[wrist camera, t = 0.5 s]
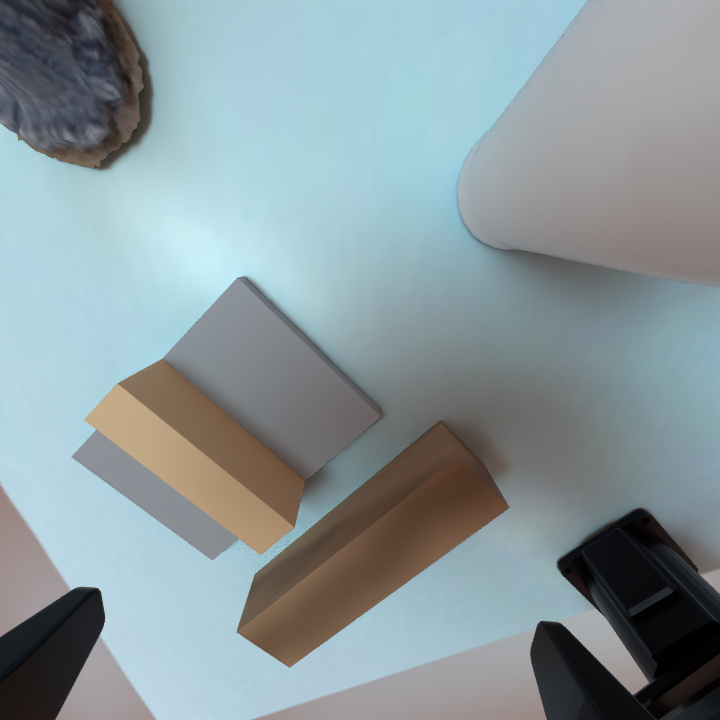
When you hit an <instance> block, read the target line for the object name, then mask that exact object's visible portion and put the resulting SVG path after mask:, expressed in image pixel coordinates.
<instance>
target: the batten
mask: <svg viewBox="0 0 720 720" xmlns="http://www.w3.org/2000/svg"><path fill="white" fill-rule="evenodd" d="M508 508H510V507H509V506H508V504H507V502H506V501H505V499H504V497H503V496H502V494H501V492H500V491H499V489H498V487H497V485H496V484H495V482H494V480H493V479H492V477H491V475H490V474H489V472H488V470H487V468H486V467H485V465H484V464H483V463H482V462H481V461H480V460H479V459H478V458H477V457H476V456H475V455H474V454H473V453H472V452H471V451H470V450H469V449H468V448H467V447H466V446H465V445H464V444H463V443H462V442H461V441H460V440H459V439H458V438H457V437H456V436H455V435H454V434H453V433H452V432H451V431H450V430H449V429H448V428H447V427H446V426H445V425H444V424H443V423H442V422H441V421H439V422H438V423H437V424H435V425H434V426H433V427H432V428H431V429H429V430H428V431H427V432H426V433H425V434H423V435H422V436H421V437H420V438H418V439H417V440H416V441H415V442H414V443H412V444H411V445H410V446H409V447H408V448H406V449H405V450H404V451H403V452H402V453H400V454H399V455H398V456H397V457H396V458H394V459H393V460H392V461H391V462H390V463H388V464H387V465H386V466H385V467H383V468H382V469H381V470H380V471H379V472H377V473H376V474H375V475H374V476H373V477H371V478H370V479H369V480H368V481H367V482H365V483H364V484H363V485H362V486H361V487H359V488H358V489H357V490H356V491H355V492H353V493H352V494H351V495H350V496H348V497H347V498H346V499H345V500H344V501H342V502H341V503H340V504H339V505H338V506H336V507H335V508H334V509H333V510H332V511H330V512H329V513H328V514H327V515H326V516H324V517H323V518H322V519H321V520H320V521H318V522H317V523H316V524H315V525H313V526H312V527H311V528H310V529H309V530H307V531H306V532H305V533H304V534H303V535H301V536H300V537H299V538H298V539H297V540H295V541H294V542H293V543H292V544H291V545H289V546H288V547H287V548H286V549H285V550H283V551H282V552H281V553H280V554H278V555H277V556H276V557H275V558H274V559H272V560H271V561H270V562H269V563H268V564H266V565H265V566H264V567H263V568H262V569H260V570H259V571H258V572H257V573H256V574H255V575H254V578H253V582H252V585H251V588H250V591H249V594H248V598H247V601H246V604H245V607H244V610H243V613H242V617H241V620H240V623H239V626H238V629H237V633H238V634H240V635H241V636H243V637H244V638H246V639H247V640H249V641H250V642H252V643H253V644H255V645H256V646H258V647H259V648H261V649H262V650H264V651H265V652H267V653H268V654H270V655H271V656H273V657H274V658H276V659H277V660H279V661H280V662H282V663H283V664H285V665H286V666H288V667H289V668H290V667H291V666H293V665H294V664H295V663H297V662H298V661H299V660H301V659H302V658H304V657H305V656H306V655H308V654H309V653H310V652H312V651H313V650H315V649H316V648H317V647H319V646H320V645H321V644H323V643H324V642H326V641H327V640H328V639H330V638H331V637H332V636H334V635H335V634H337V633H338V632H339V631H341V630H342V629H343V628H345V627H346V626H348V625H349V624H350V623H352V622H353V621H354V620H356V619H357V618H359V617H360V616H361V615H363V614H364V613H365V612H367V611H368V610H370V609H371V608H372V607H374V606H375V605H376V604H378V603H379V602H380V601H382V600H383V599H385V598H386V597H387V596H389V595H390V594H391V593H393V592H394V591H396V590H397V589H398V588H400V587H401V586H402V585H404V584H405V583H407V582H408V581H409V580H411V579H412V578H413V577H415V576H416V575H418V574H419V573H420V572H422V571H423V570H424V569H426V568H427V567H429V566H430V565H431V564H433V563H434V562H435V561H437V560H438V559H440V558H441V557H442V556H444V555H445V554H446V553H448V552H449V551H451V550H452V549H453V548H455V547H456V546H457V545H459V544H460V543H462V542H463V541H464V540H466V539H467V538H468V537H470V536H471V535H472V534H474V533H475V532H477V531H478V530H479V529H481V528H482V527H483V526H485V525H486V524H488V523H489V522H490V521H492V520H493V519H494V518H496V517H497V516H499V515H500V514H501V513H503V512H504V511H505V510H507V509H508Z"/></svg>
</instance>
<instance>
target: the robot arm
mask: <svg viewBox="0 0 720 720" xmlns="http://www.w3.org/2000/svg"><path fill="white" fill-rule="evenodd" d="M557 567H558V569H559V571H560V572H561V574H562V575H563V576H564V577H565V578H566V579H567V580H568V581H569V582H570V583H571V584H572V585H573V586H574V587H575V588H576V589H577V590H578V591H579V592H580V593H581V594H582V595H583V596H584V597H585V598H586V599H587V600H588V601H589V602H590V603H591V604H592V605H593V606H594V607H595V608H596V609H597V610H598V611H599V612H600V613H601V614H602V615H603V616H604V617H605V618H606V619H607V620H608V622H609V623H610V625H611V626H612V628H613V629H614V631H615V632H616V634H617V635H618V637H619V638H620V640H621V641H622V643H623V644H624V645H625V647H626V649H627V650H628V651H629V653H630V654H631V656H632V657H633V659H634V660H635V662H636V663H637V665H638V667H639V668H640V669H641V671H642V672H643V674H644V675H645V677H646V678H647V680H648V681H649V684H647V685H646V686H645V687H643V688H642V689H641V690H640V691H638V692H637V693H635V694H634V695H632V694H631V693H630V692H629V691H627V689H626V688H625V687H624V686H623V685H622V684H621V683H620V682H619V681H618V680H617V679H616V678H615V677H614V676H613V675H612V674H611V673H610V672H609V671H608V670H607V669H606V668H605V667H604V666H603V665H602V664H601V663H600V662H599V661H598V660H597V659H596V658H595V657H594V656H593V655H592V654H591V653H590V652H589V651H588V650H587V649H586V648H585V647H584V646H583V645H582V644H581V643H580V642H579V640H577V638H575V637H574V636H573V635H572V634H571V632H570V631H569V630H568V629H567V628H566V627H564V626H563V625H562V624H561V623H558V622H551V621H540V622H539V623H538V625H537V628H536V631H535V635H534V639H533V642H532V646H531V651H530V656H531V663H532V667H533V670H534V674H535V678H536V681H537V685H538V689H539V693H540V696H541V700H542V703H543V707H544V711H545V715H546V718H547V720H720V594H719V593H718V592H717V591H716V590H715V589H714V588H713V587H712V586H711V585H710V584H708V582H707V581H705V580H704V579H703V578H702V577H701V576H700V575H699V574H698V568H697V567H696V566H695V565H694V564H693V562H692V561H691V560H690V559H689V558H688V557H687V555H686V554H685V553H684V552H683V551H682V550H681V548H680V547H679V546H678V545H677V544H676V543H675V541H674V540H673V539H672V538H671V537H670V536H669V534H668V533H667V532H666V531H665V530H664V529H663V528H662V526H661V525H660V524H659V523H658V522H657V521H656V519H655V518H654V517H653V516H652V515H651V514H650V513H649V512H648V511H646V510H643V509H642V510H638V511H636V512H634V513H633V514H631V515H630V516H628V517H627V518H625V519H624V520H622V521H620V522H619V523H617V524H616V525H614V526H613V527H611V528H610V529H608V530H607V531H605V532H604V533H602V534H601V535H599V536H597V537H596V538H594V539H593V540H591V541H590V542H588V543H587V544H585V545H584V546H582V547H581V548H579V549H578V550H576V551H574V552H573V553H571V554H570V555H568V556H567V557H565V558H564V559H562V560H561V561H560V562H558V564H557ZM104 622H105V613H104V607H103V601H102V595H101V591H100V590H99V589H98V588H93V587H78V588H75V589H73V590H71V591H70V592H68V593H67V594H65V595H64V596H62V597H61V598H60V599H58V600H56V601H55V602H53V603H52V604H50V605H48V606H47V607H45V608H44V609H42V610H41V611H39V612H38V613H36V614H35V615H34V616H32V617H30V618H29V619H27V620H26V621H24V622H22V623H21V624H19V625H18V626H16V627H15V628H13V629H12V630H10V631H9V632H7V633H6V634H4V635H3V636H1V637H0V720H55V719H56V717H57V716H58V714H59V712H60V710H61V708H62V706H63V704H64V702H65V700H66V699H67V696H68V695H69V693H70V691H71V689H72V687H73V685H74V683H75V681H76V679H77V677H78V676H79V673H80V671H81V670H82V668H83V666H84V664H85V662H86V660H87V658H88V656H89V654H90V653H91V650H92V649H93V647H94V645H95V643H96V641H97V639H98V637H99V635H100V633H101V631H102V629H103V626H104Z"/></svg>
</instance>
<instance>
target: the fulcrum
mask: <svg viewBox="0 0 720 720" xmlns="http://www.w3.org/2000/svg"><path fill="white" fill-rule="evenodd" d="M380 417H381V415H380V409H379V408H378V407H377V406H376V405H375V404H374V403H373V402H372V401H371V400H370V399H369V398H368V397H367V396H366V395H365V394H364V393H363V392H362V391H361V390H360V389H359V388H358V387H357V386H356V385H355V384H354V383H353V382H352V381H351V380H350V379H349V378H348V377H347V376H346V375H344V374H343V373H342V372H341V371H340V370H339V369H338V368H337V367H336V366H335V365H334V364H333V363H332V362H331V361H330V360H329V359H328V358H327V357H326V356H325V355H324V354H323V353H322V352H321V351H320V350H319V349H318V348H317V347H316V346H315V345H314V344H313V343H312V342H311V341H310V340H309V339H308V338H307V337H306V336H305V335H304V334H303V333H301V332H300V331H299V330H298V329H297V328H296V327H295V326H294V325H293V324H292V323H291V322H290V321H289V320H288V319H287V318H286V317H285V316H284V315H283V314H282V313H281V312H280V311H279V310H278V309H277V308H276V307H275V306H274V305H273V304H272V303H271V302H270V301H269V300H268V299H267V298H266V297H265V296H264V295H263V294H262V293H261V292H260V291H258V290H257V289H256V288H255V287H254V286H253V285H252V284H251V283H250V282H249V281H248V280H247V279H246V278H245V277H244V276H243V277H239V278H237V279H236V280H235V281H234V282H233V283H232V284H231V285H230V286H229V287H228V289H227V290H226V291H225V292H224V293H223V294H222V295H221V296H220V297H219V298H218V299H217V300H216V301H215V303H214V304H213V305H212V306H211V307H210V308H209V309H208V310H207V311H206V312H205V313H204V314H203V315H202V317H201V318H200V319H199V320H198V321H197V322H196V323H195V324H194V325H193V326H192V327H191V328H190V330H189V331H188V332H187V333H186V334H185V335H184V336H183V337H182V338H181V339H180V340H179V341H178V342H177V344H176V345H175V346H174V347H173V348H172V349H171V350H170V351H169V352H168V353H167V354H166V355H165V356H164V358H163V359H161V360H159V361H157V362H156V363H154V364H152V365H150V366H148V367H147V368H145V369H143V370H141V371H139V372H137V373H136V374H134V375H132V376H130V377H128V378H127V379H125V380H123V381H121V382H119V383H118V384H117V385H116V386H115V387H114V388H113V389H112V390H111V391H110V392H109V393H108V394H107V396H106V397H105V398H104V399H103V400H102V401H101V402H100V403H99V404H98V405H97V407H96V408H95V409H94V410H93V411H92V412H91V413H90V414H89V415H88V417H87V418H86V419H85V421H86V422H88V423H89V424H90V425H91V426H93V427H94V428H95V429H97V430H96V431H95V432H94V433H93V434H92V435H91V436H90V437H89V438H88V440H87V441H86V442H85V443H84V444H83V445H82V446H81V447H80V448H79V449H78V450H77V451H76V453H75V454H74V455H73V456H72V458H74V459H75V460H76V461H78V462H79V463H80V464H82V465H83V466H84V467H86V468H87V469H89V470H90V471H91V472H93V473H94V474H95V475H97V476H98V477H99V478H101V479H102V480H104V481H105V482H106V483H108V484H109V485H110V486H112V487H113V488H114V489H116V490H117V491H118V492H120V493H121V494H123V495H124V496H125V497H127V498H128V499H129V500H131V501H132V502H133V503H135V504H136V505H138V506H139V507H140V508H142V509H143V510H144V511H146V512H147V513H148V514H150V515H151V516H153V517H154V518H155V519H157V520H158V521H159V522H161V523H162V524H163V525H165V526H166V527H168V528H169V529H170V530H172V531H173V532H174V533H176V534H177V535H178V536H180V537H181V538H183V539H184V540H185V541H187V542H188V543H189V544H191V545H192V546H193V547H195V548H196V549H198V550H199V551H200V552H202V553H203V554H204V555H206V556H207V557H208V558H210V559H211V560H214V559H215V558H216V557H217V556H218V555H219V554H221V553H222V552H223V551H224V550H225V549H226V548H228V547H229V546H230V545H231V544H232V543H233V542H235V541H236V540H237V539H238V538H239V539H240V540H241V541H243V542H244V543H245V544H247V545H248V546H249V547H251V548H252V549H253V550H255V551H256V552H257V553H258V554H260V555H261V554H263V553H264V552H265V551H266V550H267V549H269V548H270V547H271V546H272V545H273V544H275V543H276V542H277V541H278V540H280V539H281V538H282V537H283V536H284V535H286V534H287V533H288V532H289V531H290V530H292V529H293V528H294V527H295V523H296V519H297V514H298V510H299V506H300V502H301V497H302V493H303V489H304V485H305V481H306V480H307V479H308V478H310V477H311V476H312V475H313V474H314V473H316V472H317V471H318V470H319V469H320V468H321V467H323V466H324V465H325V464H326V463H327V462H328V461H330V460H331V459H332V458H333V457H334V456H335V455H337V454H338V453H339V452H340V451H341V450H342V449H344V448H345V447H346V446H347V445H348V444H350V443H351V442H352V441H353V440H354V439H355V438H357V437H358V436H359V435H360V434H361V433H362V432H364V431H365V430H366V429H367V428H368V427H369V426H371V425H372V424H373V423H374V422H375V421H376V420H378V419H379V418H380Z"/></svg>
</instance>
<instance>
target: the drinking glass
mask: <svg viewBox="0 0 720 720" xmlns="http://www.w3.org/2000/svg"><path fill="white" fill-rule="evenodd" d="M457 203H458V208H459V212H460V215H461V217H462V220H463V222H464V223H465V225H466V227H467V228H468V230H469V231H470V232H471V233H472V234H473V235H474V236H475V237H476V238H477V239H479V240H480V241H481V242H483V243H485V244H487V245H489V246H491V247H495V248H498V249H505V250H522V251H528V252H533V253H538V254H543V255H548V256H553V257H558V258H563V259H567V260H572V261H577V262H581V263H586V264H591V265H595V266H600V267H605V268H609V269H614V270H619V271H624V272H629V273H634V274H639V275H644V276H649V277H654V278H659V279H665V280H671V281H677V282H683V283H689V284H696V285H703V286H710V287H717V288H720V0H587V2H586V3H585V4H584V6H583V7H582V8H581V10H580V11H579V12H578V14H577V15H576V16H575V18H574V19H573V20H572V22H571V23H570V24H569V26H568V27H567V28H566V30H565V31H564V32H563V34H562V35H561V36H560V38H559V39H558V40H557V42H556V43H555V44H554V46H553V47H552V48H551V50H550V51H549V52H548V54H547V55H546V56H545V58H544V59H543V60H542V62H541V63H540V64H539V66H538V67H537V68H536V70H535V71H534V72H533V74H532V75H531V76H530V77H529V79H528V80H527V81H526V83H525V84H524V85H523V87H522V88H521V89H520V91H519V92H518V93H517V95H516V96H515V97H514V99H513V100H512V101H511V103H510V104H509V105H508V106H507V108H506V109H505V110H504V112H503V113H502V114H501V116H500V117H499V118H498V119H497V121H496V122H495V123H494V124H493V126H492V127H491V128H490V129H489V130H488V131H487V132H486V133H485V134H484V135H483V136H482V137H481V138H480V139H479V140H478V141H477V142H476V143H475V145H474V146H473V147H472V149H471V150H470V152H469V153H468V155H467V157H466V159H465V160H464V163H463V165H462V168H461V171H460V174H459V178H458V184H457Z"/></svg>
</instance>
